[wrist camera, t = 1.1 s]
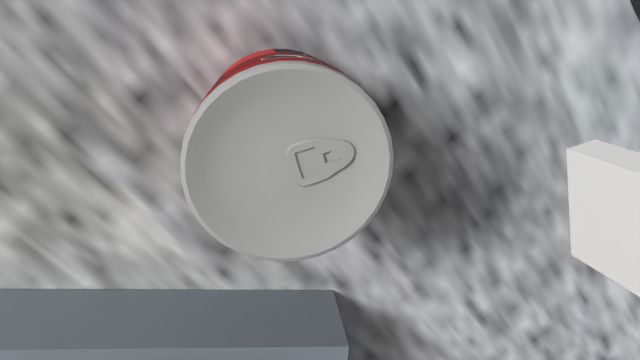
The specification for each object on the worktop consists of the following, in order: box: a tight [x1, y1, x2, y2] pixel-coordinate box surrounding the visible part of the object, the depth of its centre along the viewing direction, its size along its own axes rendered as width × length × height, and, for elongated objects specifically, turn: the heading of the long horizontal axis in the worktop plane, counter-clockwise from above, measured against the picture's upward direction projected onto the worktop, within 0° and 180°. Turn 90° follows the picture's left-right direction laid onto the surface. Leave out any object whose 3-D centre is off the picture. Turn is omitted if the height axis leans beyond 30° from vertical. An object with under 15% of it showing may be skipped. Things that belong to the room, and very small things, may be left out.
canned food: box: [180, 49, 394, 262], centre depth 24 cm, size 8×8×11 cm
